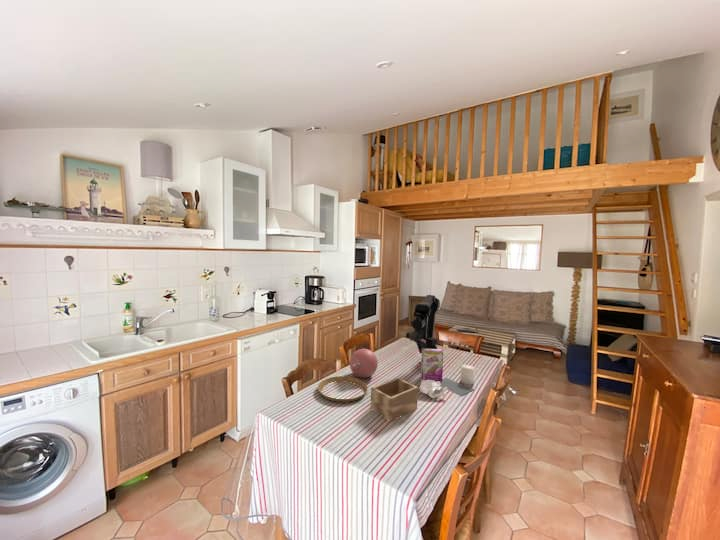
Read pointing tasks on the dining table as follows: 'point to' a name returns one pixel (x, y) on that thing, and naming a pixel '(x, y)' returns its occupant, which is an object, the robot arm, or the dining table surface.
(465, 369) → the cream domed cylinder
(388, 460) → the dining table surface
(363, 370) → the pink ball
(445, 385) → the mat
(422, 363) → the candy bar box
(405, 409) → the rectangular brown crate
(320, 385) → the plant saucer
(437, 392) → the coral
